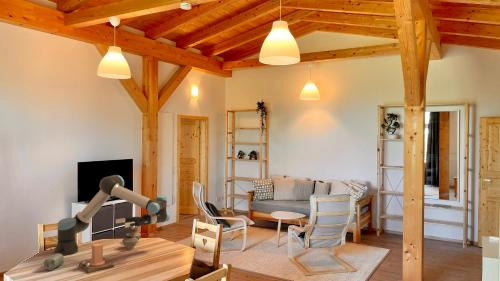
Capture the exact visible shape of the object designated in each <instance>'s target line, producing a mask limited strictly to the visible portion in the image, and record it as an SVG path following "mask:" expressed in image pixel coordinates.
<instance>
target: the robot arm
mask: <svg viewBox="0 0 500 281" xmlns="http://www.w3.org/2000/svg"><path fill="white" fill-rule="evenodd" d="M124 186H125V180H124V179H123V177H122V176H120V175H118V174H113V175H110V176H105V177H103V178H102V179H101V180H100V182H99V191H98V192H97V193H96V194H95V195H94V196H93V198H92V199H91V200H90V201H89V203H87V205H86V206H84V208H83V209H82V211H78V212H77V213H76V214H75V215H74V217H66V218H62V219H60V220H59V221H58V222H57V226H56V227H57V243H56V245H55V249H54V254H57V253H60V254H62V255H63V256H71V255H74V254H76V253H78V252H79V246H78V243H77V239H76V238H77V234H79V233H81V232H84V231H86V230H87V229H88V228H89V226H90V224H91V222H92V218H93V217H94V216H95V214H96V213H97V212H98V211H99V210H100V209H101V208H102V207H103V205H104V204H105V203H106V202H107V201H108V200H109V199H110V198H111V197H117V198H119V199H121V200H124V201H126V202H128V203H130V204H133V205H135V206H138V207H140V208H142V209H145V210H147V212H148V213H145V214H144V213H143V214H142V216H141V217H140V216H123V218H116V219H115V224H121V223H124V228H125V229H126V228H132V227H138V228H139V227H140V226H148V225H154V224H161V223H166V222H168V221H170V217H171V215H170V213H169V211H167V206H168V204H167V203H168V202H167V201H168V198H167V196H166V195H157V196H155V200H154V199H151V198H150V197H147V196H144V195H142V194H139V193H137V192H135V191H133V190H130V189H128V188H126V187H124Z"/></svg>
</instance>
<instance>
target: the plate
mask: <svg viewBox="0 0 500 281" xmlns="http://www.w3.org/2000/svg"><path fill="white" fill-rule="evenodd" d="M103 260H104V261H105V264H104V265H102V266H98V267H92V266H90V268H89V269H86V266H82V262H81V263H78V268H80V269H82V270H83V271H84V272H85V273H87V274H91V273H96V272H99V271H100V272H101V271H105V270H108V269H112V268H114V267H115V264H113V263H112V262H110V261H108V260H107V259H105V258H103ZM86 263H90V261H86Z"/></svg>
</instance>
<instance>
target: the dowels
mask: <svg viewBox="0 0 500 281" xmlns="http://www.w3.org/2000/svg"><path fill="white" fill-rule="evenodd" d="M86 262H87V261H86V260H82V261H81V263H82V266H86V269H89V268H90V263H86Z"/></svg>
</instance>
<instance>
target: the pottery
mask: <svg viewBox="0 0 500 281" xmlns="http://www.w3.org/2000/svg"><path fill="white" fill-rule="evenodd" d="M130 228H131V230H130V233H129V232H128V233H126V234H125V238H123V239H122V240H121V242H122V245H123V247H125V249H126V250H128V249H130V250H134V248H135V247H136V245H137V244H138V243H139V242H138V241H139V240H141V236H142V233H140V232H139V231H138V228H139V227H137V226H132V227H130Z"/></svg>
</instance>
